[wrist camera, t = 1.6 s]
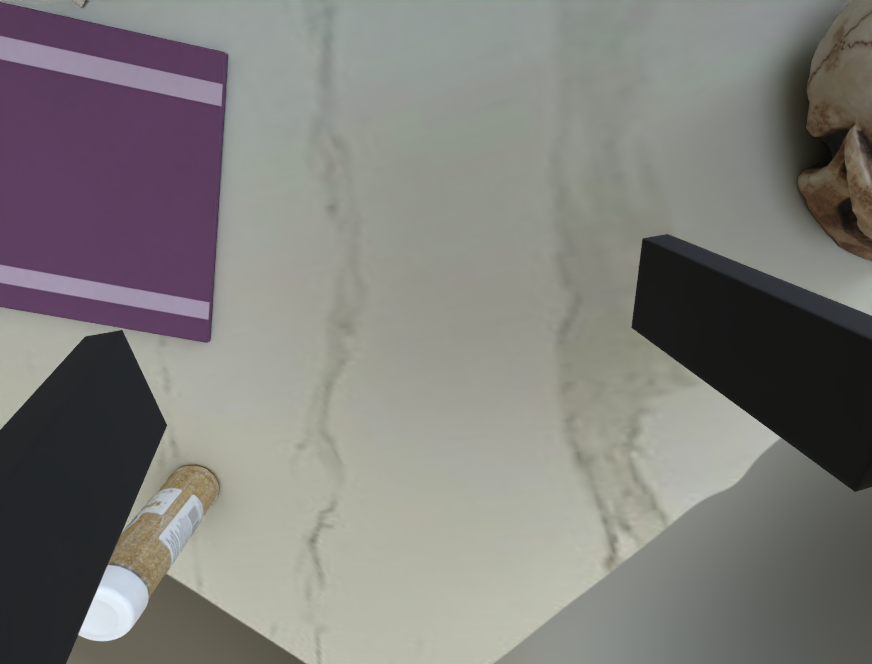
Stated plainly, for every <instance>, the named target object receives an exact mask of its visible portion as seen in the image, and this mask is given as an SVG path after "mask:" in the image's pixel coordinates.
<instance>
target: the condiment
mask: <svg viewBox="0 0 872 664" xmlns="http://www.w3.org/2000/svg"><path fill="white" fill-rule="evenodd" d="M73 1H74V2H75V3H76V4H77V5H79V6H80V7H82V6H83V4H84V3H85V0H73Z"/></svg>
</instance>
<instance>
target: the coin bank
mask: <svg viewBox="0 0 872 664" xmlns="http://www.w3.org/2000/svg"><path fill="white" fill-rule="evenodd" d="M807 95H808V99H809V102H810V105H809V110H808V119H807V125H806V128H807V130H808V131H809V132H810V134H811V135H812V136H814V137H818V139H819V140H821V141H822V142H824V143H825V144H826V145H828V149H829V152H830V154H831V155H830V157H829V159H828V160H827V161H825V162H823V163H821V164H818V165H816V166H813V167H811V168H808V169H805V170H804V171H803V172H802V173H801V174H800V175H799V178H798V185H799V189H800V192H801V193H802V194H803V195H804V197H805V198H806V201H807V205H808V207H809V208H810V211H811V213H812V214H813V215H814V217H815V218H816V219H817V220H818V221H819V223H820V224H821V225H822V226H823V228H824V229H825V230H826V232H827V233H828V234H829V235H831V236H832V237H834V239H835V240H836V242H837V243H838V245H839V246H840V247H842V248H844V249H846V250H848V251H850V252H851V253H854V254H856V255H859V256H861V257H863V258H867V259H872V0H852V1H851V2H850V3H849V4H848V5H847V6H846V7H845V8H844V9H843V10H842V12H841V13H840V14H839V15H838V16H837V17H836V19H835V20H834V21H833V23H832V24H831V26H830V28H829V29H828V31H827V33H826V34H825V36H824V37H823V38H822V39H821V41H820V42H819V44H818V46H817V49H816V51H815V54H814V56H813V59H812V62H811V69H810V76H809V79H808V82H807Z"/></svg>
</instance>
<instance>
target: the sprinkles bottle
mask: <svg viewBox="0 0 872 664" xmlns="http://www.w3.org/2000/svg"><path fill="white" fill-rule="evenodd" d="M218 495H219V484H218V481H217V479H216V478H215V476H214V475H213V474H212V473H210V472H209V471H208V470H207V469H205V468H202V467H200V466H183V467H181V468H179V469H177V470H175V471H174V472H173V473H172V474H171V476H170V477H169V478H168V481H167V482H166V483H165V484H164V485H163V486H162V487H161V489H160V490H159V491H158V492H157V493H156V494H155V495H154V496H153V497H152V498H151V499H150V500H149V502H148V503H147V504H146V505H145V506H144V507H143V509H142V510H141V511H140V512H139V513H138V515H137V516H136V517H135V518H134V519H133V520H132V522H131V523H130V524H129V525H128V526H127V527H126V528H125V529H124V531H123V532H122V533H121V535H120V537H119V540H118V542H117V544H116V547H115V549H114V551H113V554H112V556H111V559H110V561H109V563H108V566H107V568H106V570H105V573H104V575H103V577H102V580H101V582H100V584H99V587H98V589H97V592H96V594H95V596H94V599H93V601H92V603H91V606H90V608H89V610H88V613H87V615H86V617H85V620H84V622H83V625H82V627H81V629H80V632H79V634H78V635H80V636H82V637H84V638H87V639H90V640H95V641H110V640H114V639H117V638H120V637H122V636H123V635H125V634H126V633H127V632H128V631H129V630H130V629H131V628H132V627H133V625H134V624H135V623H136V621H137V620H138V618H139V617H140V615H141V613H142V612H143V611H144V609H145V608H146V606H147V603H148V601H149V598H150V595H151V594H152V593H153V591H154V590H155V588H156V586H157V585H158V584H159V582H160V581H161V579H162V578H163V576H164V575H165V574H166V573H167V571H168V570H169V569H170V568H171V566H172V565H173V563H174V562H175V560H176V558H177V557H178V555H179V554H180V553H181V551H182V549H183V548H184V546H185V545H186V543H187V542H188V540H189V539H190V537H191V536H192V534H193V533H194V531H195V530H196V528H197V527H198V525H199V524H200V522H201V520H202V518H203V516H204V515H205V513H206V512H207V510H208V508H209V507H210V506H211V505H212V504H213V503H214V502H215V501H216V499H217V498H218Z"/></svg>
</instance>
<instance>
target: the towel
mask: <svg viewBox="0 0 872 664" xmlns="http://www.w3.org/2000/svg"><path fill="white" fill-rule="evenodd" d="M227 61H228V55H227V54H226V53H224V52H221V51H216V50H212V49H207V48H203V47H198V46H194V45H190V44H185V43H181V42H176V41H172V40H167V39H163V38H158V37H154V36H149V35H145V34H140V33H136V32H131V31H127V30H122V29H118V28H113V27H109V26H105V25H100V24H96V23H91V22H87V21H82V20H78V19H73V18H69V17H64V16H60V15H55V14H51V13H46V12H42V11H37V10H33V9H28V8H24V7H19V6H15V5H11V4H6V3H2V2H0V307H4V308H10V309H16V310H22V311H27V312H33V313H39V314H45V315H51V316H56V317H62V318H68V319H74V320H79V321H85V322H91V323H97V324H102V325H108V326H114V327H120V328H125V329H131V330H137V331H143V332H148V333H154V334H160V335H166V336H171V337H177V338H183V339H189V340H194V341H200V342H206V343H207V342H209V341H210V335H211V319H212V302H213V286H214V270H215V254H216V238H217V222H218V206H219V190H220V173H221V157H222V141H223V125H224V109H225V93H226V77H227Z"/></svg>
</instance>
